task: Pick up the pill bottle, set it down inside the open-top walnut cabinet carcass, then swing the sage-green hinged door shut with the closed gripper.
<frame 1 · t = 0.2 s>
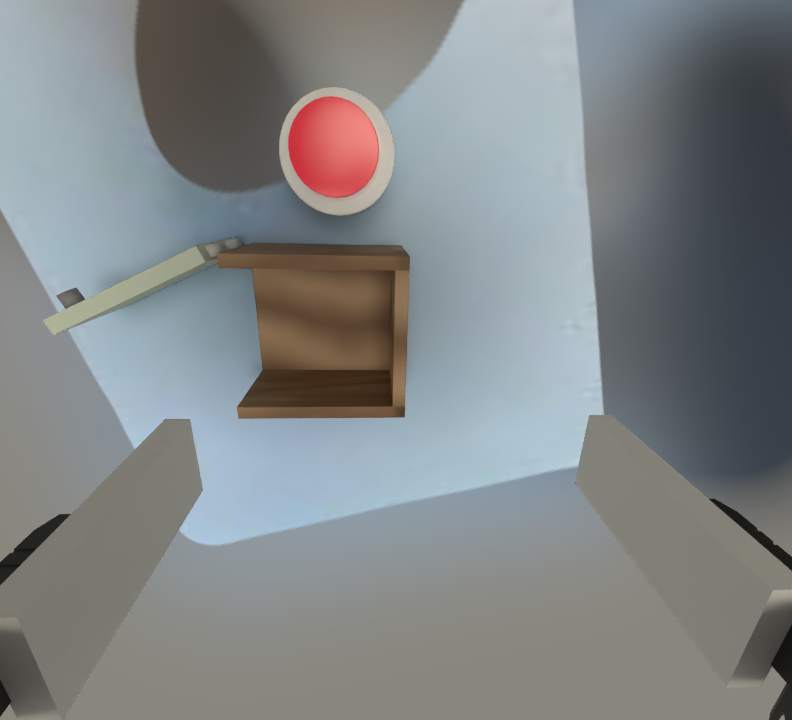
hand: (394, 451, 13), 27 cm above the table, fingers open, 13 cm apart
carcass: (330, 313, 39), on the table
pill bottle: (345, 166, 35), on the table
door: (152, 272, 32), point 5 cm above the table, hinge at 65.0°
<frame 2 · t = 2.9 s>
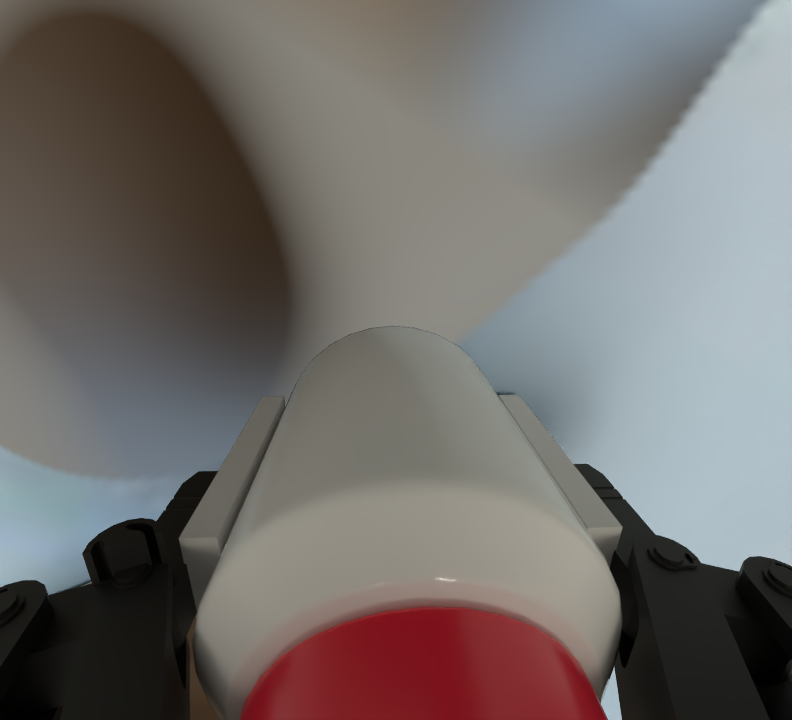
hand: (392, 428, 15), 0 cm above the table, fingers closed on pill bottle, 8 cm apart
carcass: (352, 658, 20), on the table
pill bottle: (392, 421, 15), on the table, touching gripper
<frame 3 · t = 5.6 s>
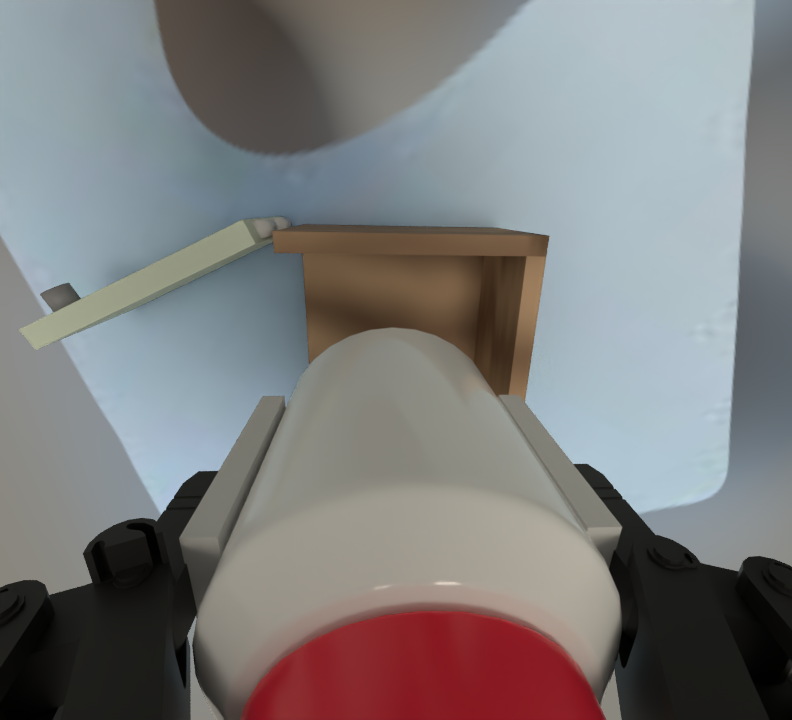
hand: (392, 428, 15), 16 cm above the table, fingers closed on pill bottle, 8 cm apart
carcass: (399, 317, 30), on the table
pill bottle: (392, 423, 15), point 16 cm above the table, touching gripper
door: (173, 262, 23), point 5 cm above the table, hinge at 65.0°
when the fingers open (3 cm above the table, at t = 8.3 s): pill bottle drops 2 cm, resting on carcass.
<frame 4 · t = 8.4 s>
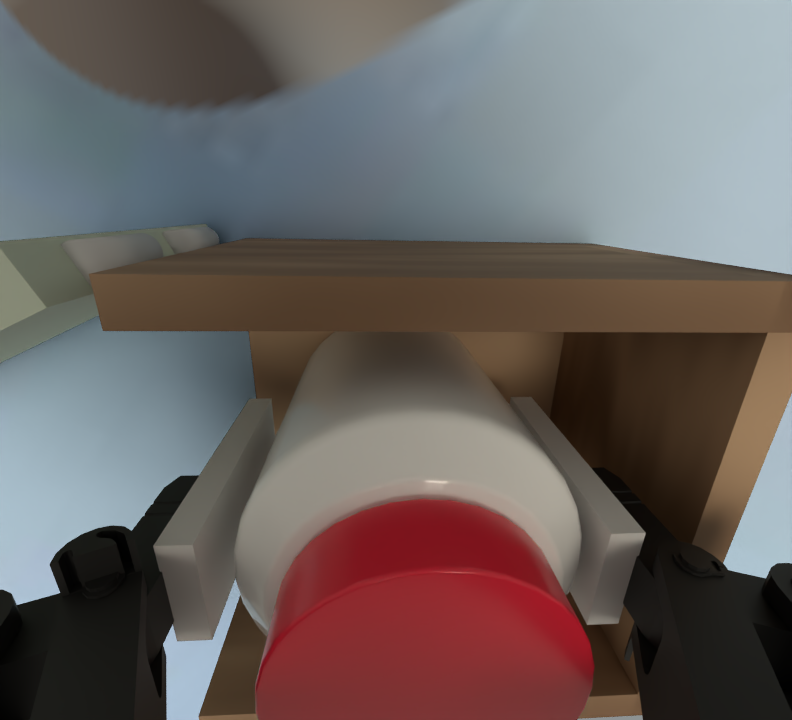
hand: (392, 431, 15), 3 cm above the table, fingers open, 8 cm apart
carcass: (417, 392, 18), on the table
pill bottle: (391, 400, 17), point 1 cm above the table, touching carcass
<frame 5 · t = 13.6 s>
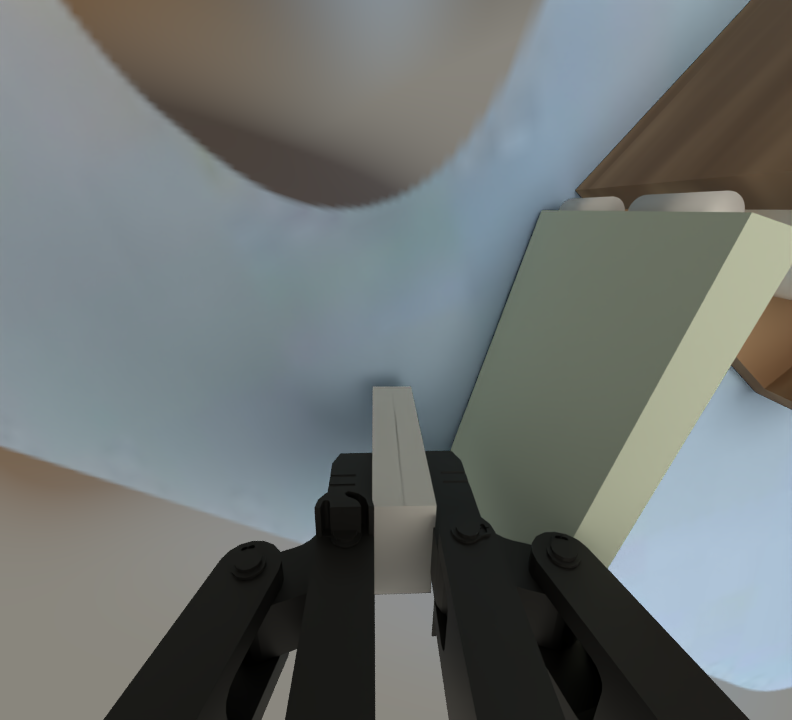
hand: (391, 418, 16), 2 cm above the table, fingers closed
door: (520, 409, 13), point 5 cm above the table, hinge at 65.0°, touching gripper
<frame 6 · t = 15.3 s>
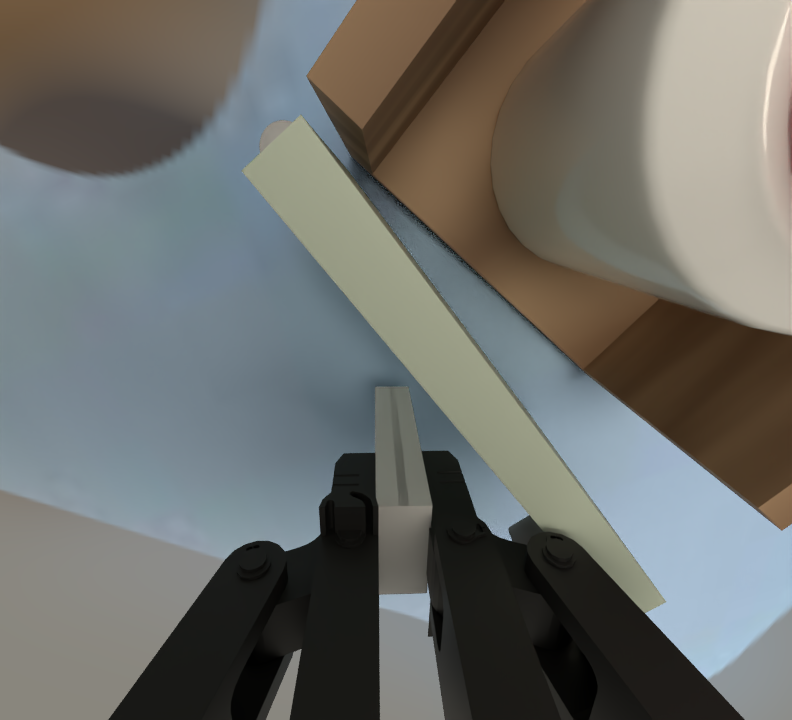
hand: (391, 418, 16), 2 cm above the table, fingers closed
carcass: (616, 128, 14), on the table
pill bottle: (601, 153, 14), point 1 cm above the table, touching carcass
door: (439, 362, 12), point 5 cm above the table, hinge at 11.4°, touching gripper
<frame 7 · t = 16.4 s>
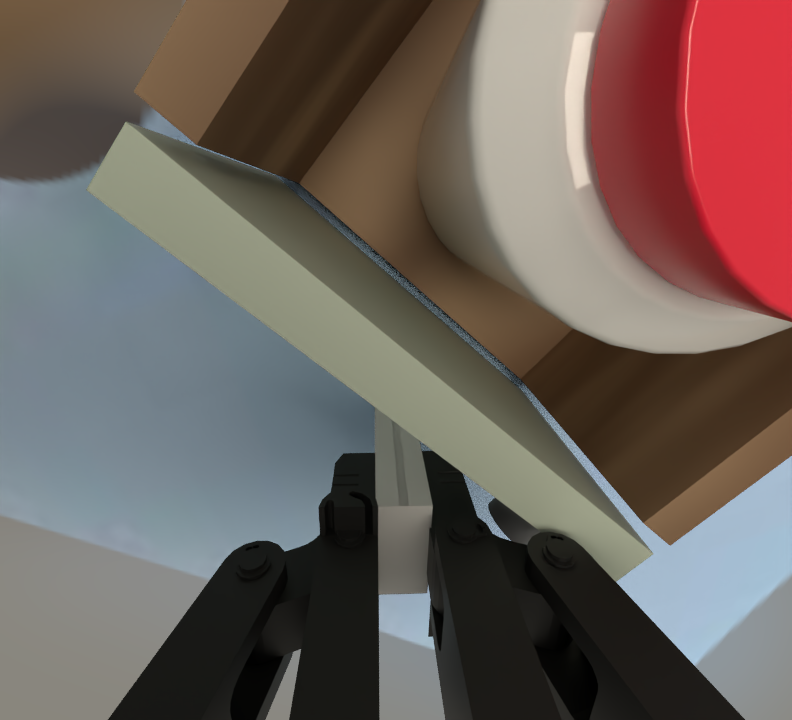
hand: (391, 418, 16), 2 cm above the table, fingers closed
carcass: (546, 140, 14), on the table
pill bottle: (528, 165, 14), point 1 cm above the table, touching carcass
door: (388, 347, 12), point 5 cm above the table, hinge at -0.1°, touching gripper
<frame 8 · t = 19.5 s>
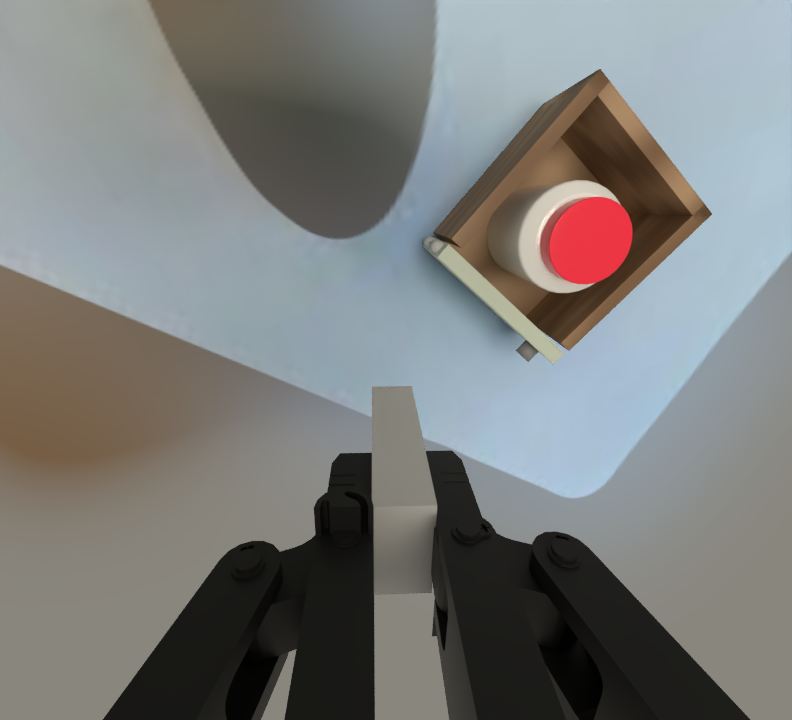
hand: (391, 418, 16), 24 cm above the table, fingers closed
carcass: (534, 222, 37), on the table
pill bottle: (528, 232, 36), point 1 cm above the table, touching carcass
door: (481, 299, 34), point 5 cm above the table, hinge at -0.1°
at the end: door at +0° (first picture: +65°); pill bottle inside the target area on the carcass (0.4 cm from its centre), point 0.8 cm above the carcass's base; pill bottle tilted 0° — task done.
